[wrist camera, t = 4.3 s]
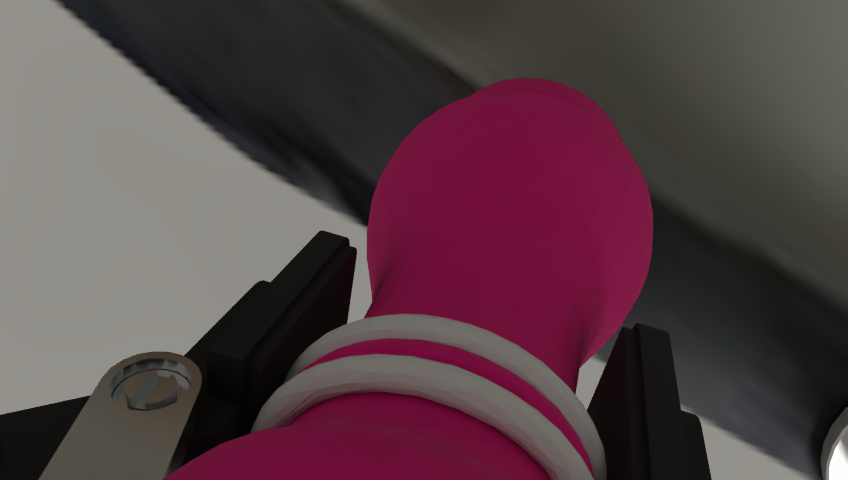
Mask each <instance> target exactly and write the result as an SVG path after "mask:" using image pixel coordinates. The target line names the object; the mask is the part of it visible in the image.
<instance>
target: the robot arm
mask: <svg viewBox="0 0 848 480" xmlns="http://www.w3.org/2000/svg"><path fill="white" fill-rule="evenodd" d="M349 244H350V243H349V239H348V238H346V237H343V236H340V235H336V234H332V233H329V232H326V231H319V232H318V233H317V234H316V236H315V237H313V238H312V240H310V242H309V243H308V244H307V245H306V246H305V247H304V248H303V249H302V250H301V251H300V252H299V253H298V254H297V255H296V256H295V257H294V258H293V259H292V260H291V261H290V263H289V264H288V265H287V266H286V267H285V268H284V269H283V270H282V271H281V272H280V273H279V274H278V275H277V276H276V277H275V278H274V279H273V281H271V282H267V281H264V280H263V281H259V282H258V283H256V284H255V285H254V286H253V287H252V288H251V289H250V290H249V291H248V292H247V293H246V294H245V295H244V296H243V297H242V298H241V299H240V300H239V301H238V302H237V303H236V304H235V305H234V306H233V307H232V308H231V309H230V310H229V311H228V312H227V313H226V314H225V315H224V316H223V317H222V318H221V319H220V320H219V321H218V322H217V323H216V324H215V325H214V326H213V327H212V328H211V329H210V330H209V331H208V332H207V333H206V334H205V335H204V336H203V337H202V338H201V339H200V340H199V341H198V342H197V343H196V344H195V345H194V346H193V347H192V348H191V350H189V352H187V353H186V354H185V355H184V356H182V355H179V354H175V353H171V352H148V353H142V354H137V355H135V356H132V357H129V358H127V359H124V360H122V361H120V362H119V363H117V364H116V365H114V366H113V367H111V368H110V369H109V370H108V372H107V373H106V374H105V375H104V376H103V377H102V379H101V380H100V382H99V383H98V385H97V387H96V388H95V390H94V391H93V393H92V395H90V396H86V397H81V398H77V399H72V400H67V401H63V402H58V403H54V404H49V405H44V406H40V407H35V408H30V409H26V410H21V411H17V412H12V413H7V414H2V415H0V480H162V479H164V478H165V477H167V476H168V475H170V474H172V473H173V472H175V471H176V470H178V469H179V468H181V467H182V466H184V465H185V464H187V463H188V462H190V461H191V460H193V459H195V458H197V457H198V456H200V455H202V454H204V453H205V452H207V451H209V450H211V449H213V448H214V447H216V446H218V445H220V444H222V443H225V442H228V441H230V440H233V439H236V438H239V437H242V436H245V435H248V434H251V430H252V427H253V425H254V423H255V420H256V418H257V416H258V414H259V412H260V410H261V408H262V407H263V405H264V404H265V403H266V402H267V401H268V399H269V398H270V397H271V396H272V395H273V393H274V392H275V391H276V390H277V389H278V388H279V387H281V386H282V385H283V382H284V380H285V378H286V376H287V374H288V372H289V370H290V369H291V367H292V366H293V364H294V362H295V361H296V360H297V358H298V357H299V356H300V355H301V354H302V353H303V352H304V351H305V350H306V349H307V348H308V347H309V346H310V345H312V344H313V343H314V342H316V341H317V340H318V339H320V338H321V337H322V336H324V335H325V334H326V333H328V332H330V331H332V330H334V329H337V328H339V327H341V326H343V325H345V324H347V320H348V313H349V305H350V297H351V291H352V284H353V277H354V270H355V263H356V255H357V249H356V248H354V247H351V246H349ZM587 412H588V414H589V416H590V418H591V419H592V421H593V423H594V425H595V427H596V430H597V432H598V435H599V437H600V440H601V442H602V445H603V447H604V453H605V460H606V466H607V480H711V474H710V469H709V464H708V459H707V454H706V448H705V443H704V438H703V432H702V427H701V423H700V420H699V418H698V417H697V416H696V415H695V414H691V413H688V412H685V411H682V410H681V407H680V401H679V395H678V388H677V382H676V375H675V369H674V362H673V356H672V349H671V343H670V336H669V333H668V332H666V331H663V330H660V329H656V328H653V327H649V326H646V325H643V324H639V323H636V324H635V325H634V327H633V329H629V328H625V327H623V328H622V329H621V331H620V333H619V335H618V338H617V340H616V343H615V345H614V347H613V350H612V352H611V355H610V357H609V359H608V362H607V364H606V366H605V369H604V371H603V374H602V376H601V378H600V381H599V383H598V386H597V388H596V390H595V393H594V395H593V397H592V400H591V402H590V404H589V407H588V409H587ZM820 461H821V469H822V477H823V480H848V407H846V408H845V409H844V411H843V412H842V413H841V414H840V416H839V417H838V418H837V419H836V421H835V422H834V423H833V424H832V426H831V428H830V430H829V432H828V434H827V436H826V438H825V441H824V443H823V448H822V454H821V460H820Z"/></svg>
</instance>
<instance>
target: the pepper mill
mask: <svg viewBox="0 0 848 480" xmlns="http://www.w3.org/2000/svg"><path fill="white" fill-rule="evenodd" d="M652 243H653V210H652V205H651V200H650V194H649V190H648V188H647V185H646V183H645V180H644V177H643V175H642V172H641V170H640V168H639V167H638V165H637V163H636V162H635V160H634V158H633V157H632V155H631V153H630V152H629V150H628V149H627V148H626V147H625V145H624V144H623V142H622V139H621V137H620V135H619V133H618V131H617V129H616V127H615V126H614V124H613V122H612V121H611V119H610V118H609V117H608V116H607V115H606V113H605V112H604V111H603V110H602V109H601V108H600V107H599V106H598V105H597V104H596V103H595V102H594V101H592V100H591V99H589V98H588V97H587V96H585V95H584V94H582V93H581V92H579V91H576V90H574V89H572V88H570V87H568V86H565V85H563V84H560V83H557V82H553V81H549V80H545V79H529V78H519V79H512V80H505V81H500V82H498V83H495V84H492V85H490V86H487V87H484V88H482V89H481V90H479V91H477V92H476V93H474V94H472V95H471V96H469V97H467V98H463V99H460V100H457V101H455V102H453V103H451V104H449V105H447V106H445V107H443V108H441V109H439V110H438V111H436V112H435V113H433V114H432V115H430V116H429V117H428V118H426V119H425V120H423V121H422V122H420V123H419V124H418V125H417V126H416V127H415V128H414V129H413V130H412V131H411V132H410V133H409V135H408V136H407V137H406V138H405V139H404V140H403V141H402V142H401V144H400V145H399V147H398V148H397V150H396V152H395V153H394V155H393V156H392V158H391V159H390V161H389V163H388V164H387V166H386V168H385V169H384V171H383V173H382V174H381V177H380V179H379V182H378V185H377V187H376V190H375V192H374V195H373V198H372V204H371V210H370V217H369V223H368V229H367V261H368V269H369V276H370V284H371V290H372V304H371V306H370V308H369V310H368V311H367V313H366V315H365V317H364V319H361V320H358V321H355V322H352V323H349V324H345V325H343V326H341V327H339V328H337V329H334V330H332V331H330V332H328V333H326V334H325V335H324V336H322V337H321V338H320V339H318V340H317V341H316V342H314V343H313V344H312V345H310V346H309V347H308V348H307V349H306V350H305V351H304V352H303V353H302V354H301V355H300V356H299V357H298V358H297V360H296V361H295V362H294V364H293V366H292V367H291V369H290V370H289V372H288V374H287V376H286V378H285V380H284V382H283V385H282V386H281V387H279V388H278V389H277V390H276V391H275V392H274V393H273V395H272V396H271V397H270V398H269V399H268V401H267V402H266V403H265V404H264V405H263V407H262V408H261V410H260V412H259V414H258V416H257V418H256V420H255V423H254V425H253V427H252V430H251V434H248V435H245V436H242V437H239V438H236V439H233V440H230V441H228V442H225V443H222V444H220V445H218V446H216V447H214V448H213V449H211V450H209V451H207V452H205V453H204V454H202V455H200V456H198V457H197V458H195V459H193V460H191V461H190V462H188V463H187V464H185V465H184V466H182V467H181V468H179V469H178V470H176V471H175V472H173V473H172V474H170V475H168V476H167V477H165V478H164V479H162V480H607V466H606V460H605V453H604V447H603V445H602V442H601V440H600V437H599V435H598V432H597V430H596V427H595V425H594V423H593V421H592V419H591V418H590V416H589V414H588V412H587V411H586V409H585V407H584V405H583V404H582V403H581V401H580V400H579V399H578V398H577V396H576V395H575V394H576V387H577V381H578V374H579V368H580V367H581V366H582V365H583V364H584V363H585V362H586V361H587V360H588V359H589V358H590V357H592V356H593V355H594V354H595V353H596V352H597V351H598V350H599V349H600V348H601V347H602V346H603V345H604V344H605V343H606V342H607V341H608V340H609V339H610V338H611V337H612V336H613V334H614V333H615V332H616V331H617V330H618V329H619V327H620V326H621V324H622V323H623V321H624V319H625V318H626V316H627V314H628V313H629V311H630V310H631V308H632V306H633V305H634V303H635V301H636V300H637V298H638V296H639V294H640V292H641V289H642V287H643V284H644V282H645V280H646V277H647V275H648V270H649V265H650V261H651V256H652Z"/></svg>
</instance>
